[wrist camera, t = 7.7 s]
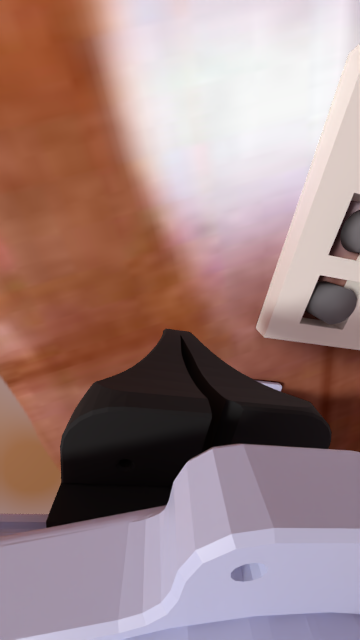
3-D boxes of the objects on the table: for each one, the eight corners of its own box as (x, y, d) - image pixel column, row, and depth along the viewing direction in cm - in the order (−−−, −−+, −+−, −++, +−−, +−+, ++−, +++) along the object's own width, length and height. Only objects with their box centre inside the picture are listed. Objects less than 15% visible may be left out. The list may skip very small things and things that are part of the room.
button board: (344, 340, 23) (359, 350, 21) (255, 328, 22) (264, 337, 20) (470, 95, 16) (511, 78, 14) (348, 53, 14) (375, 28, 13)
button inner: (326, 315, 22) (346, 326, 19) (296, 311, 21) (313, 321, 19) (341, 284, 21) (363, 291, 18) (310, 278, 20) (329, 285, 18)
